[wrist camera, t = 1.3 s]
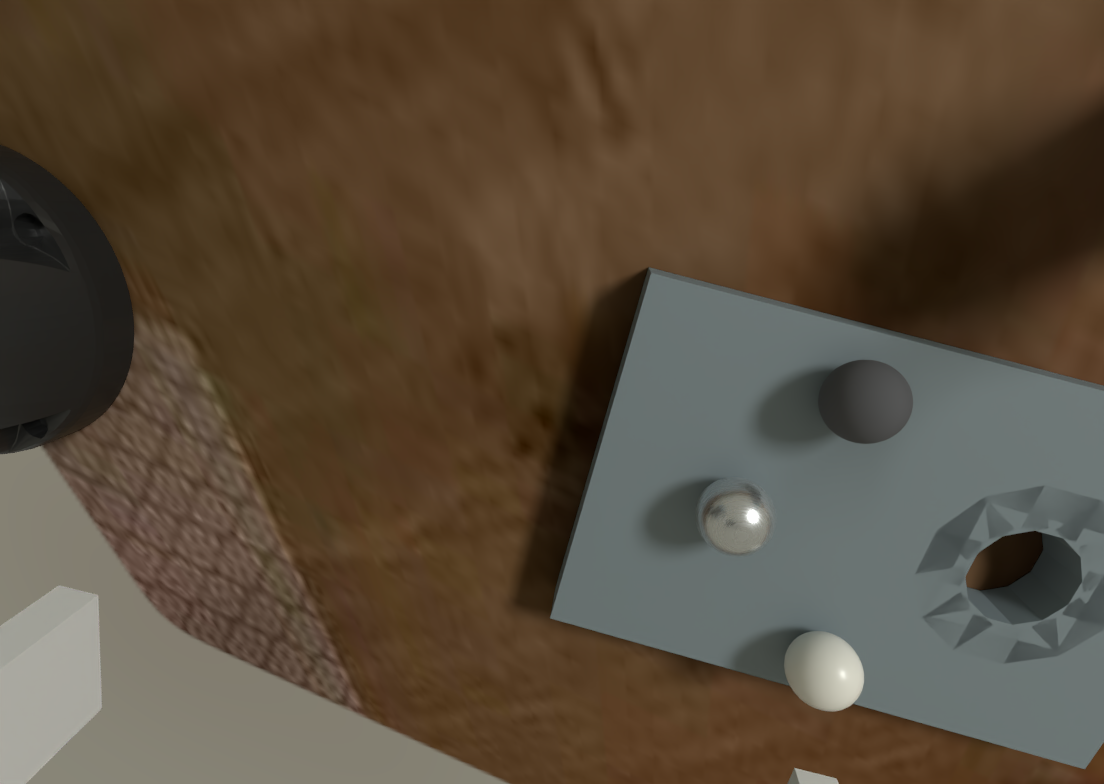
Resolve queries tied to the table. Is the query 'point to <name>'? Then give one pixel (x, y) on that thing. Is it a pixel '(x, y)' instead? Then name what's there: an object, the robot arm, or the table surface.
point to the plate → (851, 517)
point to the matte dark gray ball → (865, 401)
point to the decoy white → (824, 671)
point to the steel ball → (735, 516)
